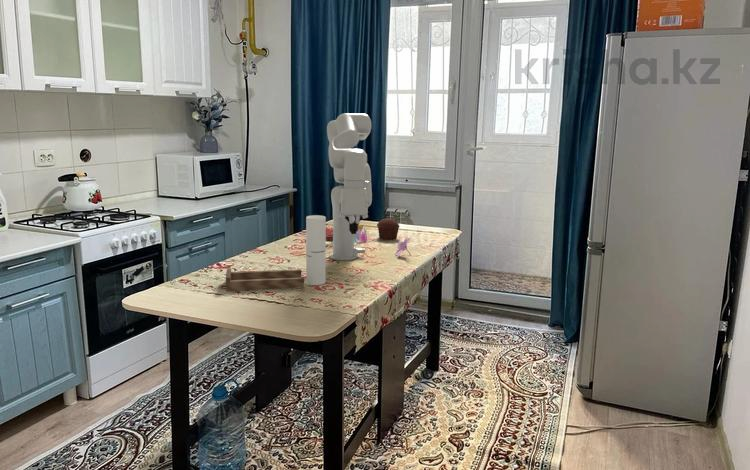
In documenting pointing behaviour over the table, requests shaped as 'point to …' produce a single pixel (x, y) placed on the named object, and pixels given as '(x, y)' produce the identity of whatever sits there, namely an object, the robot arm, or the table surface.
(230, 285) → the U-rest
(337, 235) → the robot arm
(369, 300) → the table surface
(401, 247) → the lily
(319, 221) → the cylindrical container
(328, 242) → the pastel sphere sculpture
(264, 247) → the table surface
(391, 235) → the muffin
